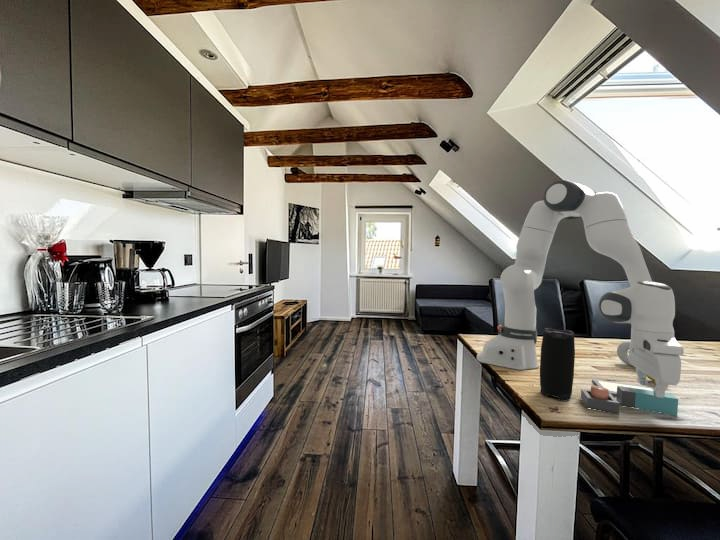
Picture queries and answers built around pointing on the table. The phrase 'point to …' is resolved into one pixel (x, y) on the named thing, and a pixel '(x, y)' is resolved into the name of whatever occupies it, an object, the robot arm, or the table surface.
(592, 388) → the button
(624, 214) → the robot arm
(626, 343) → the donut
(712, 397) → the table surface
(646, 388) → the drawing board
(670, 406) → the marker
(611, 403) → the button housing
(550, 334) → the portable speaker
